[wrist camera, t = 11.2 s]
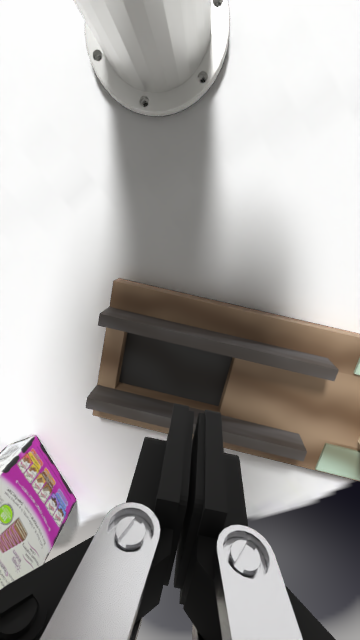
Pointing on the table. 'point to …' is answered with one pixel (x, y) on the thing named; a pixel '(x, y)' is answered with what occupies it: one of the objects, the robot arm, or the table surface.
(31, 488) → the candy bar box
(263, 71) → the table surface
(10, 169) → the table surface
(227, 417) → the runway board
